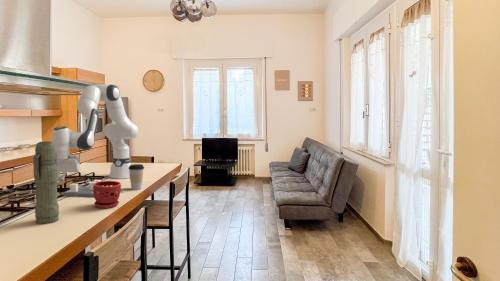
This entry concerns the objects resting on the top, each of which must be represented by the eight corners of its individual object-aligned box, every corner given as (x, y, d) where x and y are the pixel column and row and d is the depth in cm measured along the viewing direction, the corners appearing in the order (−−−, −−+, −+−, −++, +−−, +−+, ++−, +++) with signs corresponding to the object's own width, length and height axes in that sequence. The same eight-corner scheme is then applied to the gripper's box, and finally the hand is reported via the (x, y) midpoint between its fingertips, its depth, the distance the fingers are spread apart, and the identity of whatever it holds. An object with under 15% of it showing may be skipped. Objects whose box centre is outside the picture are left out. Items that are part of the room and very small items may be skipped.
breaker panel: (77, 189, 204) (77, 186, 204) (107, 190, 204) (107, 186, 204) (63, 196, 188) (63, 192, 188) (95, 197, 188) (95, 193, 188)
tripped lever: (72, 190, 192) (72, 183, 191) (78, 191, 192) (78, 183, 191) (70, 192, 189) (70, 184, 189) (75, 192, 189) (75, 184, 189)
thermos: (28, 224, 142) (25, 143, 139) (46, 216, 154) (43, 140, 151) (48, 225, 142) (46, 143, 139) (64, 216, 154) (63, 141, 150)
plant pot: (93, 210, 164) (92, 186, 163) (93, 203, 176) (93, 181, 175) (121, 208, 169) (121, 185, 168) (120, 201, 181) (120, 179, 180)
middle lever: (91, 189, 197) (91, 181, 197) (96, 189, 197) (96, 181, 197) (89, 190, 195) (89, 182, 194) (94, 190, 195) (94, 182, 194)
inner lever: (95, 186, 203) (95, 179, 202) (100, 187, 203) (100, 179, 202) (93, 187, 200) (93, 180, 200) (98, 188, 200) (98, 180, 200)
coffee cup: (129, 191, 203) (129, 166, 202) (127, 187, 212) (127, 164, 210) (145, 189, 208) (145, 166, 206) (142, 186, 216) (142, 163, 215)
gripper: (82, 155, 191) (82, 179, 192) (46, 154, 191) (46, 178, 192) (76, 156, 185) (76, 181, 186) (39, 155, 185) (39, 180, 186)
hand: (61, 179), depth 189 cm, fingers closed
